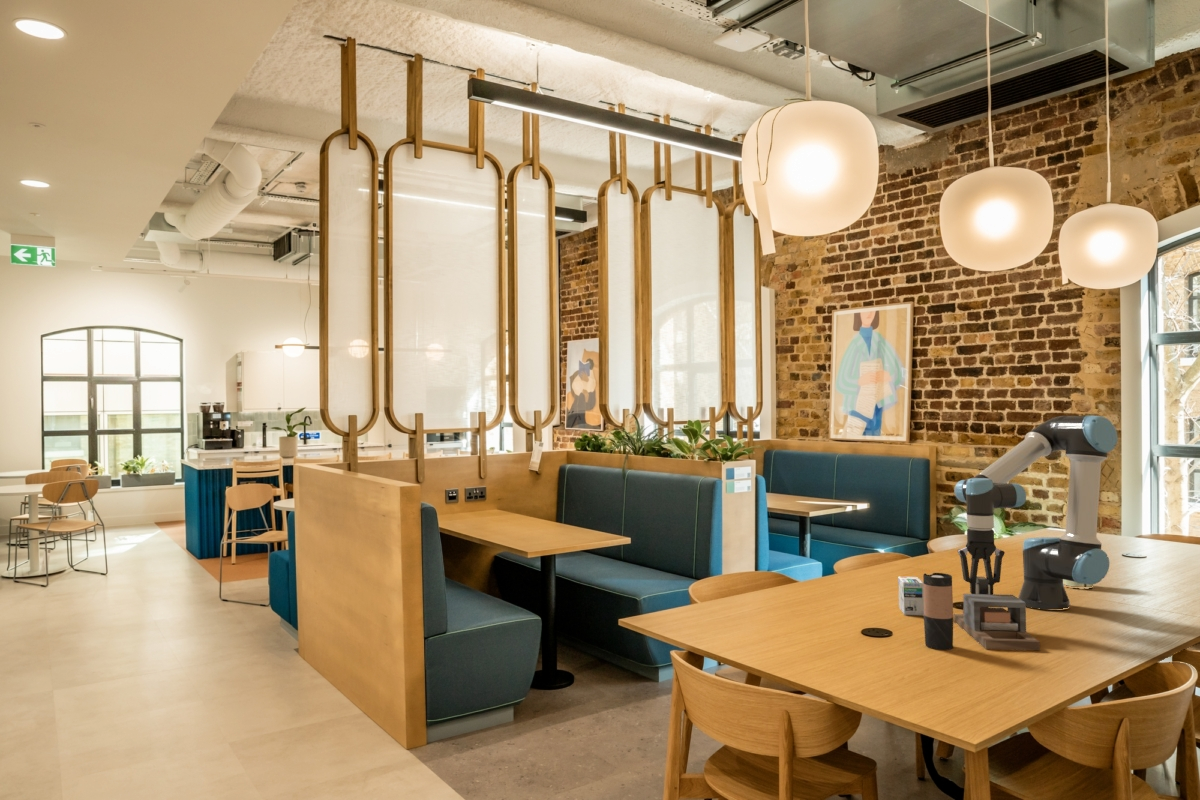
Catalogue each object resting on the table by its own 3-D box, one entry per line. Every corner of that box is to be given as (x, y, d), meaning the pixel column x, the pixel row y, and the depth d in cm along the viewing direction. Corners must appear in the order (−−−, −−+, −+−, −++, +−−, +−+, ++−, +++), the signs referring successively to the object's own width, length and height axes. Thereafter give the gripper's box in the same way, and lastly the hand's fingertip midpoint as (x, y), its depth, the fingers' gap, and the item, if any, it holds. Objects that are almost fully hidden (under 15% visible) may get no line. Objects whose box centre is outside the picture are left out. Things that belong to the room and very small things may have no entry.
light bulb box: (925, 616, 255) (924, 582, 255) (903, 615, 256) (903, 582, 257) (919, 608, 266) (918, 576, 266) (898, 607, 267) (897, 575, 267)
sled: (963, 615, 245) (962, 576, 245) (997, 615, 243) (996, 576, 244) (981, 629, 228) (980, 588, 228) (1018, 630, 227) (1017, 588, 227)
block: (1003, 624, 234) (1002, 607, 234) (1010, 630, 228) (1010, 612, 228) (978, 624, 235) (977, 607, 235) (985, 629, 229) (984, 612, 230)
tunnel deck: (954, 621, 248) (953, 586, 248) (1001, 623, 246) (1000, 587, 246) (985, 649, 218) (985, 609, 219) (1039, 650, 216) (1038, 610, 217)
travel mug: (951, 651, 216) (950, 578, 217) (922, 647, 220) (920, 576, 221) (955, 644, 223) (954, 574, 223) (926, 641, 227) (925, 571, 227)
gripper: (1002, 527, 245) (1004, 602, 245) (950, 526, 248) (951, 601, 247) (1011, 530, 238) (1013, 608, 237) (957, 530, 240) (959, 607, 240)
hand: (982, 604), depth 242 cm, fingers closed on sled, 2 cm apart
